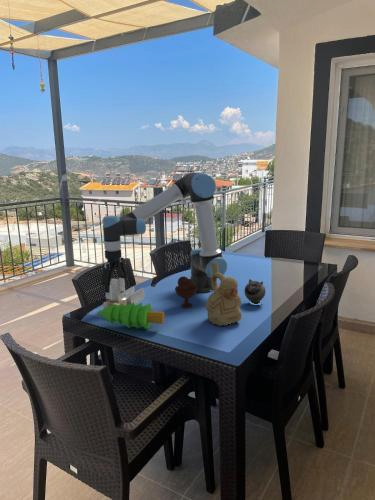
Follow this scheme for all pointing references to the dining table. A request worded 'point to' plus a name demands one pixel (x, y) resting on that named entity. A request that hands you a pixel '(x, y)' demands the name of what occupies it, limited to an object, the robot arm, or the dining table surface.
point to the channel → (134, 295)
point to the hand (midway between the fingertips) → (115, 294)
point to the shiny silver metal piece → (117, 291)
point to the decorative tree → (132, 315)
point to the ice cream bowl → (186, 290)
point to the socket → (109, 303)
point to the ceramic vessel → (223, 299)
